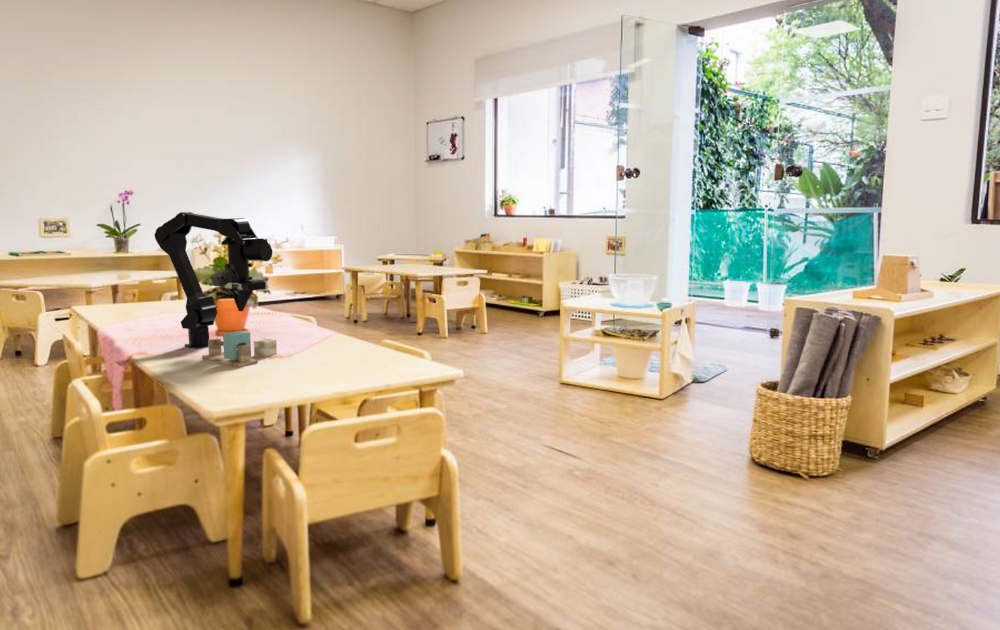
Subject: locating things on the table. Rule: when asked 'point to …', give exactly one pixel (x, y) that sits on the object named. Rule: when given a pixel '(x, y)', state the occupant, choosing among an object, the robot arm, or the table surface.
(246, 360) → the rail
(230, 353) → the bead
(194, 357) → the table surface
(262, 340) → the maple cube
